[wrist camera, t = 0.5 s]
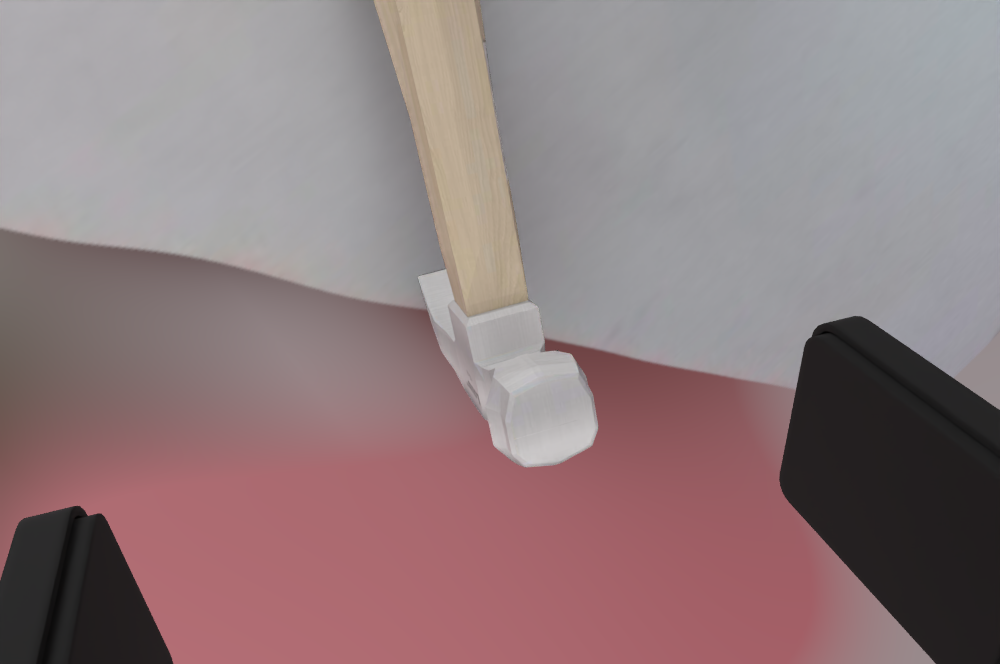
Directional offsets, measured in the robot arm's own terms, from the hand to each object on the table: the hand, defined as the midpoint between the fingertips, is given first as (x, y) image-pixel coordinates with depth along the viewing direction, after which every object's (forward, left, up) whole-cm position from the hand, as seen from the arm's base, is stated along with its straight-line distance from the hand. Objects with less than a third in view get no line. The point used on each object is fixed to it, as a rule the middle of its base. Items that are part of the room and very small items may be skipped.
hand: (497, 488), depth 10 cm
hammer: (+2, +6, -32) cm, 32 cm away
